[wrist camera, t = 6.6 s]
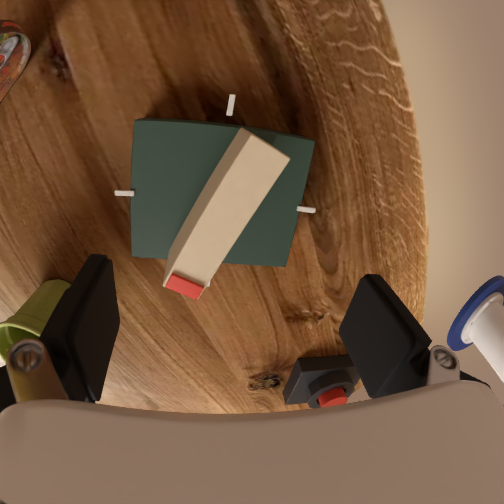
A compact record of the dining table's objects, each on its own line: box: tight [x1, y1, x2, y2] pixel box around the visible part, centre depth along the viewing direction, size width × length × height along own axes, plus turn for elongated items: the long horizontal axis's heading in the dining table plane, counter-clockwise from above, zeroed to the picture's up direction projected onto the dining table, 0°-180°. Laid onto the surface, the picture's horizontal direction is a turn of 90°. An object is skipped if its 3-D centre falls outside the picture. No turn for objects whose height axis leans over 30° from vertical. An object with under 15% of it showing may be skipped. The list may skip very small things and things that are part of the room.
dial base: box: [115, 94, 315, 286], centre depth 20 cm, size 14×14×3 cm
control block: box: [283, 355, 360, 408], centre depth 35 cm, size 10×8×4 cm
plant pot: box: [0, 279, 71, 363], centre depth 21 cm, size 9×9×9 cm
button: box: [318, 387, 348, 407], centre depth 32 cm, size 4×4×2 cm
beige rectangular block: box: [163, 128, 290, 300], centre depth 17 cm, size 10×2×5 cm, turn 147°
